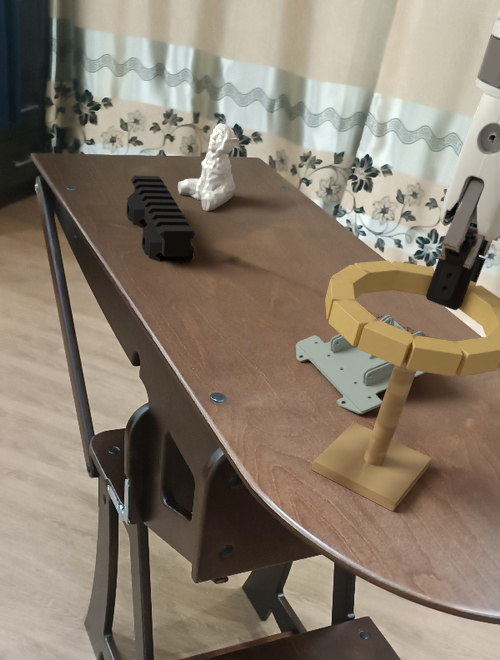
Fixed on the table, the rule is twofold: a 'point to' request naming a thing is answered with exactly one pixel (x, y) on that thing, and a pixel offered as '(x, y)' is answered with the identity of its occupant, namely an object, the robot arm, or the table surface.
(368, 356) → the metal bracket
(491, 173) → the robot arm
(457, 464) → the table surface
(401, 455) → the peg
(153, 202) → the rail mount
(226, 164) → the seated beast figurine
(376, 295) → the table surface
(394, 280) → the ring
